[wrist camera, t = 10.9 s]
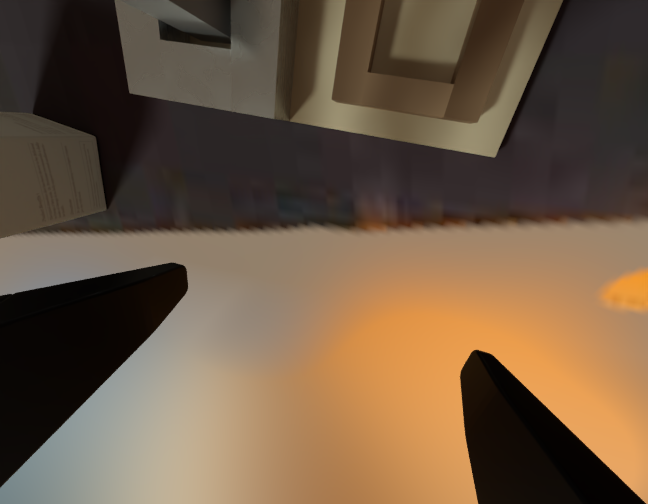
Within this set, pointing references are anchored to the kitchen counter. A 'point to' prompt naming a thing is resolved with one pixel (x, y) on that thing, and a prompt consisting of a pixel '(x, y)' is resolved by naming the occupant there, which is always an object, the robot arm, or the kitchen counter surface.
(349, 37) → the brown rectangular frame
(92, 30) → the kitchen counter surface
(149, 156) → the kitchen counter surface
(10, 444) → the robot arm
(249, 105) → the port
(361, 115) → the board
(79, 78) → the kitchen counter surface
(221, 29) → the plug
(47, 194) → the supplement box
